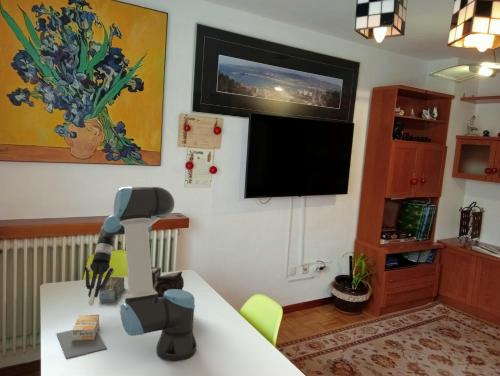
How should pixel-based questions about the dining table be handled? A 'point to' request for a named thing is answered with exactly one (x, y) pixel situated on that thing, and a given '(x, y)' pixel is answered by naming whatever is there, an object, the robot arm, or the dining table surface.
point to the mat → (79, 345)
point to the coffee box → (155, 275)
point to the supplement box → (85, 327)
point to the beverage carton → (112, 289)
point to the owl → (169, 282)
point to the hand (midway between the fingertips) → (90, 304)
